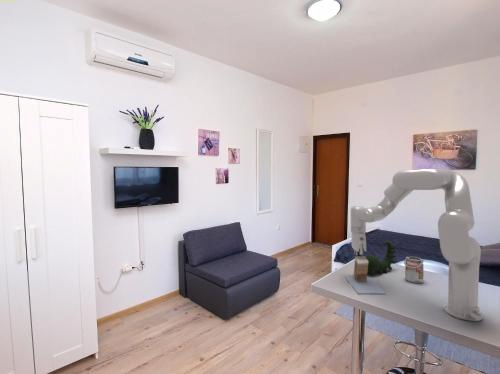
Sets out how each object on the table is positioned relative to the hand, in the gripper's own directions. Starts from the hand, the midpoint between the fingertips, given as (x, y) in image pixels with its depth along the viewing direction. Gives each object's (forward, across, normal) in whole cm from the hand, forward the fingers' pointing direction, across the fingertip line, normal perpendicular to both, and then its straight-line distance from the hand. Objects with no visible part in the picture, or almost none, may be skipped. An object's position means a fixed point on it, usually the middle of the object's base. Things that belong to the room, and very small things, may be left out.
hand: (358, 262), depth 146 cm
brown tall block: (+8, -2, 0) cm, 8 cm away
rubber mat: (+9, -8, 0) cm, 12 cm away
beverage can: (+9, -3, -28) cm, 30 cm away
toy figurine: (+9, +10, -14) cm, 20 cm away
